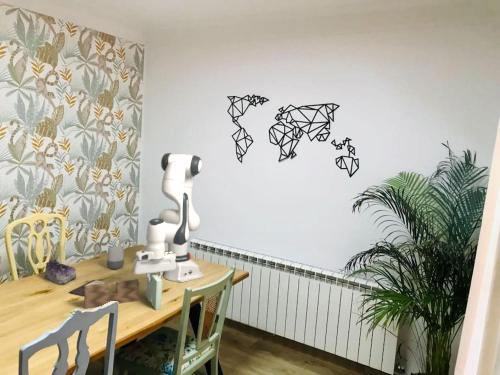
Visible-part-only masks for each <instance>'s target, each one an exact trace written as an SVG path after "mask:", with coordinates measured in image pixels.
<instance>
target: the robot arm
mask: <svg viewBox="0 0 500 375" xmlns="http://www.w3.org/2000/svg"><path fill="white" fill-rule="evenodd" d="M160 161H161V162H160V166H161V169H162V170H163V171H164V174H163V177H162V182H161V192H162V194H163V196H165V198H167V199H168V200H170V201H172V202H174V204H176V206H177V209H175V208H165V209H162V210H161V211H160V212H159V214H158V218H153V219H150V220H148V223H147V228H146V239H145V240H146V245H145V248H144V249H141V250H139V251H136V252H135V258H134V259H133V263H132V273H133V274H134V275H136V276H137V275H146V277H147V276H148V281H149V282H151V281H152V277H150V276H149V275H150V273H159V274H157V275H158V276H159V277H160V278H162V276H163V278H164V279H165V280H168V281H171V282H172V281H174V282H178V283H186V282H189V281H193V280H198V279H202V278H203V277H204V273H203V272H202V271H201V270H200V266H199V265H198V263H196V261H194V260H193V258H194V255H193V254H192V253H190V252H189V251H188V249H189V248H188V247H189V239H190V232H195V231H197V230H198V229H199V228H200V226H201V223H202V222H201V217H200V216H199V214H198V213H197V211H196V210H195V207H194V204H193V191H194V190H193V189H194V177H195V176H197V175H199V174H200V172H201V171H202V168H203V163H202V158H201V157H200V156H198V155H192V154H189V153H188V154H187V153H172V152H168V153H164V155H163V156H162V157H161V160H160ZM165 243H167V251H166V244H165ZM163 274H164V275H163Z"/></svg>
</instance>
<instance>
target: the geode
mask: <svg viewBox="0 0 500 375" xmlns="http://www.w3.org/2000/svg"><path fill="white" fill-rule="evenodd" d="M45 264H46V265H45V271H44V279H47V280H49V281H51V282H53V283H55V284H59V285H66V284H68V283H70V282H71V281H72V280H75V279H77V270H76V268H75V267H74V266H69V265H66V264H63V263H60V262H59V261H57V259H56V258H55V259H53V261H52V260H49V261H48V262H46V263H45Z"/></svg>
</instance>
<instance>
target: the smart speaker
mask: <svg viewBox="0 0 500 375" xmlns="http://www.w3.org/2000/svg"><path fill="white" fill-rule="evenodd" d="M124 264H125V256H124V246H123V245H121V246H120V245H119V246H113V247H108V248H107V258H106V265H107V268H108V269H110V270H112V271H117V270H118V271H119V270H120V269H122V268H123V267H124Z"/></svg>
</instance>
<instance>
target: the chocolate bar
mask: <svg viewBox="0 0 500 375" xmlns="http://www.w3.org/2000/svg"><path fill="white" fill-rule="evenodd" d="M104 283H107V282H106V281H105V282H104V281H101V280H95V279H93V280H90V281H88V282H87V283H84V284H82V285H80V286H79V287H77V288H74V289H72V290H71V291H69V292H68V294H71V295H74V296H79V297H83V298H84V292H85V286H89V285H96V284H104Z"/></svg>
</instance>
